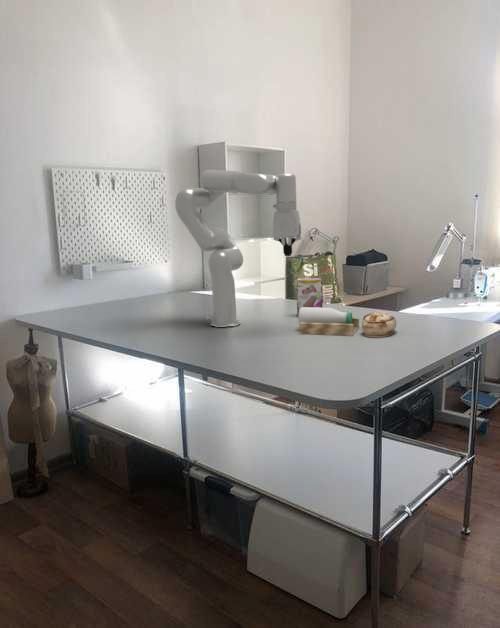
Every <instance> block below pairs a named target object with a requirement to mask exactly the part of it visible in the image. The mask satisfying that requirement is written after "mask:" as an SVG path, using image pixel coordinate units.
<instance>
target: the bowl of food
mask: <svg viewBox="0 0 500 628" xmlns="http://www.w3.org/2000/svg"><path fill="white" fill-rule="evenodd" d="M396 328H397V319H396V317H395V316H394V315H392V314H391V313H389V312H387V311H380V310H379V311H374V312H370V313H367V314H365V315H364V316H363V318H362V321H361V329H362V332H363V333H364V334H363V335H365V337H369V338H385V337H388V336H391V335H392V334H393V333H394V332H395V329H396Z"/></svg>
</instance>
